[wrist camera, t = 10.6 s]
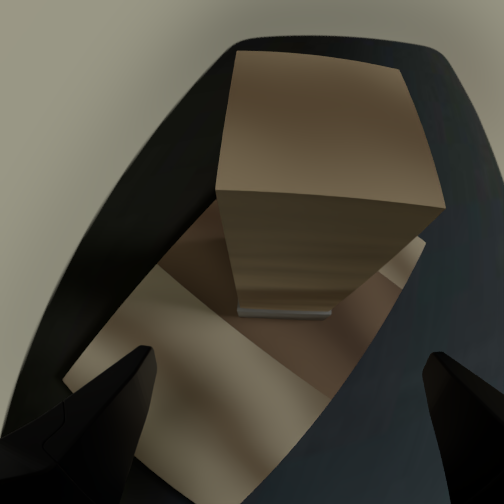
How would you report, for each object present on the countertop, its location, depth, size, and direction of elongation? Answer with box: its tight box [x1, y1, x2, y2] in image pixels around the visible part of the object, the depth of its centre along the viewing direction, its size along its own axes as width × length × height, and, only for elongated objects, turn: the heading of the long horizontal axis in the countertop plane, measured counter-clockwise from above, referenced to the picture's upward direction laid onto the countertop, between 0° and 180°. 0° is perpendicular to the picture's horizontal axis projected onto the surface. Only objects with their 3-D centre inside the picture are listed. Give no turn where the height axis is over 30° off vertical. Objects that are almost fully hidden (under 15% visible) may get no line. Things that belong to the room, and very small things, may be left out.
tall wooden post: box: [215, 51, 446, 320], centre depth 12 cm, size 5×5×13 cm
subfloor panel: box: [63, 199, 426, 504], centre depth 18 cm, size 22×13×2 cm, turn 142°
